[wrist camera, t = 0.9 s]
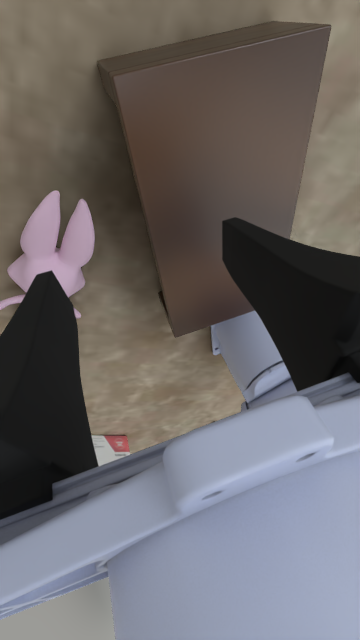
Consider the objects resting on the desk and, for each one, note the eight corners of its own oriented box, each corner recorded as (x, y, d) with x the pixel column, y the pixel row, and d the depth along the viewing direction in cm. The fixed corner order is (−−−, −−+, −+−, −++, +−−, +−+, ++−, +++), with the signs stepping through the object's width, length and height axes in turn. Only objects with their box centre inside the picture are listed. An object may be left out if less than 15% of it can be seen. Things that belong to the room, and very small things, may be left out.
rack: (251, 271, 29) (277, 303, 26) (160, 301, 28) (175, 338, 25) (273, 21, 16) (332, 24, 12) (96, 60, 14) (111, 75, 11)
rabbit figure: (68, 325, 28) (119, 196, 19) (69, 379, 25) (131, 259, 15) (-6, 318, 25) (9, 157, 15) (-15, 379, 22) (-4, 227, 12)
